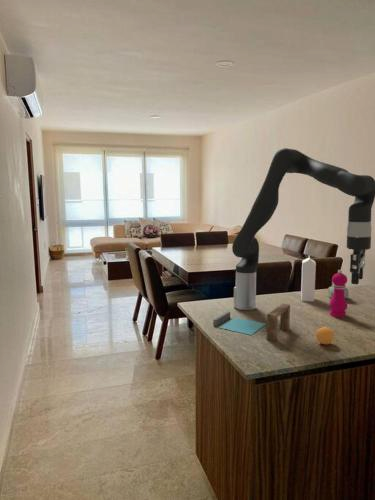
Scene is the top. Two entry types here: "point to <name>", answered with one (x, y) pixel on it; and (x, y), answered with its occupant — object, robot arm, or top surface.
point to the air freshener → (331, 291)
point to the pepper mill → (338, 295)
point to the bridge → (272, 320)
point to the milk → (308, 280)
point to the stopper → (221, 318)
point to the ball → (325, 335)
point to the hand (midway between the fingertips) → (357, 281)
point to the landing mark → (243, 326)
